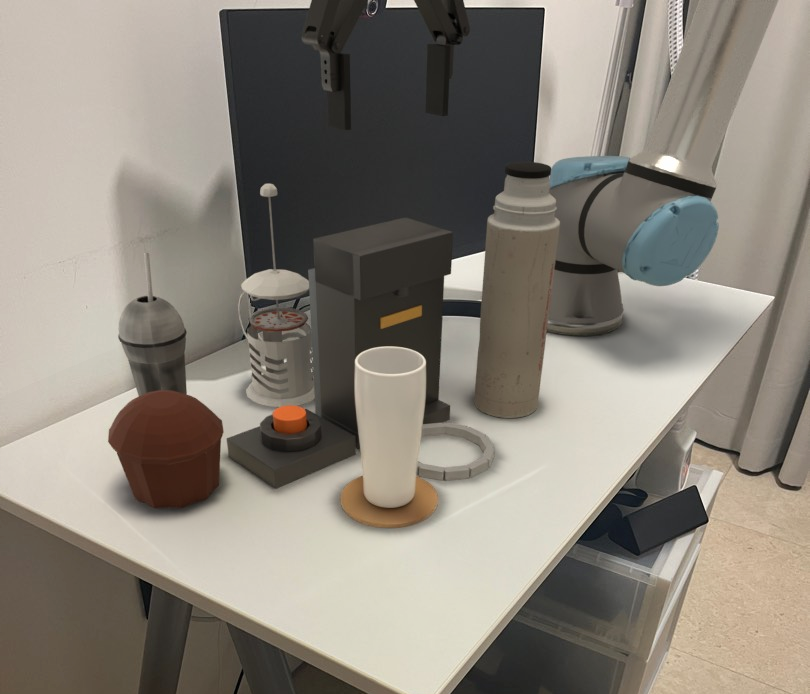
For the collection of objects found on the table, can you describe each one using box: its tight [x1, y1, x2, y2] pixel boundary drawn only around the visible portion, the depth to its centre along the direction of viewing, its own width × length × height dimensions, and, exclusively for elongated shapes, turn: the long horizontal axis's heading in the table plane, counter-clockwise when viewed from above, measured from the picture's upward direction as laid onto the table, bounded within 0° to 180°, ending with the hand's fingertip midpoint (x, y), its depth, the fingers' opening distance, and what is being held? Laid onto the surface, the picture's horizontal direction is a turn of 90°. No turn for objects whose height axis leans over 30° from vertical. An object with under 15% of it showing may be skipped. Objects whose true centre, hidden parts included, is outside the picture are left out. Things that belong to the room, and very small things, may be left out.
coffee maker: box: [307, 216, 496, 481], centre depth 90 cm, size 13×22×22 cm, turn 43°
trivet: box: [340, 475, 439, 529], centre depth 85 cm, size 10×10×1 cm
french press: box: [237, 183, 315, 408], centre depth 99 cm, size 10×12×25 cm
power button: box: [272, 405, 307, 434], centre depth 90 cm, size 4×4×2 cm
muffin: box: [107, 390, 224, 509], centre depth 84 cm, size 12×11×10 cm
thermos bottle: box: [473, 161, 560, 419], centre depth 96 cm, size 8×8×28 cm
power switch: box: [226, 408, 357, 489], centre depth 92 cm, size 11×9×4 cm
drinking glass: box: [354, 346, 426, 508], centre depth 81 cm, size 7×7×15 cm
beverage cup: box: [117, 252, 188, 397], centre depth 92 cm, size 7×7×20 cm
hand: (390, 121), depth 87 cm, fingers open, 13 cm apart
